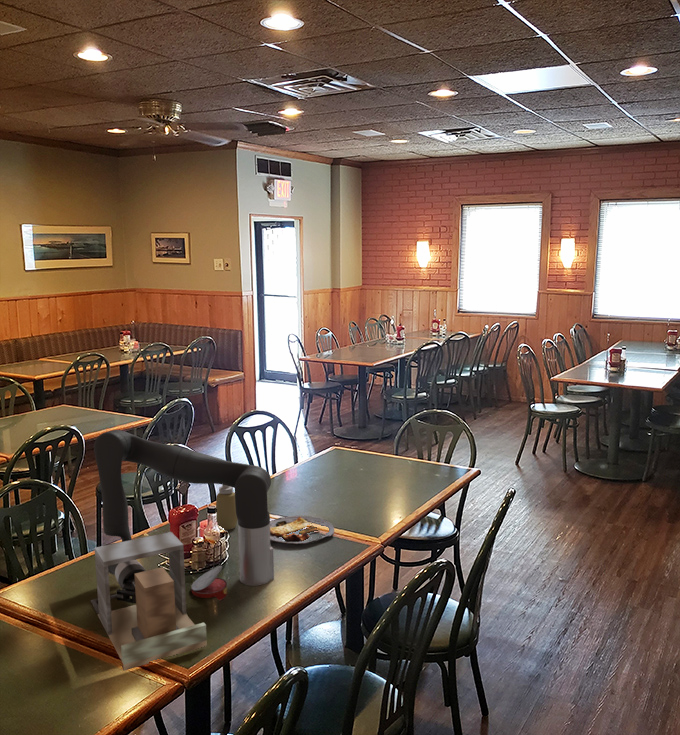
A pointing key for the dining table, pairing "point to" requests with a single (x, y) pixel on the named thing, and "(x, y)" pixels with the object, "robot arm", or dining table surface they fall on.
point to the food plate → (296, 528)
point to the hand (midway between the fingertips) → (150, 603)
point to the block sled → (154, 604)
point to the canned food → (210, 585)
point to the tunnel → (126, 618)
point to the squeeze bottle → (226, 508)
